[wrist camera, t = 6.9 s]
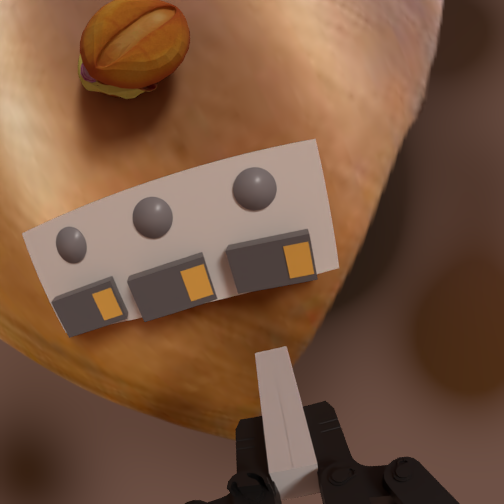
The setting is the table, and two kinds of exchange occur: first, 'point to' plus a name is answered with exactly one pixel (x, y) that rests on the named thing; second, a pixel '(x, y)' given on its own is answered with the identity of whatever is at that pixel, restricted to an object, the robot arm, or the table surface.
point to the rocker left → (90, 307)
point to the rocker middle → (172, 287)
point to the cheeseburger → (132, 47)
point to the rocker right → (272, 261)
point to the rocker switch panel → (188, 222)
